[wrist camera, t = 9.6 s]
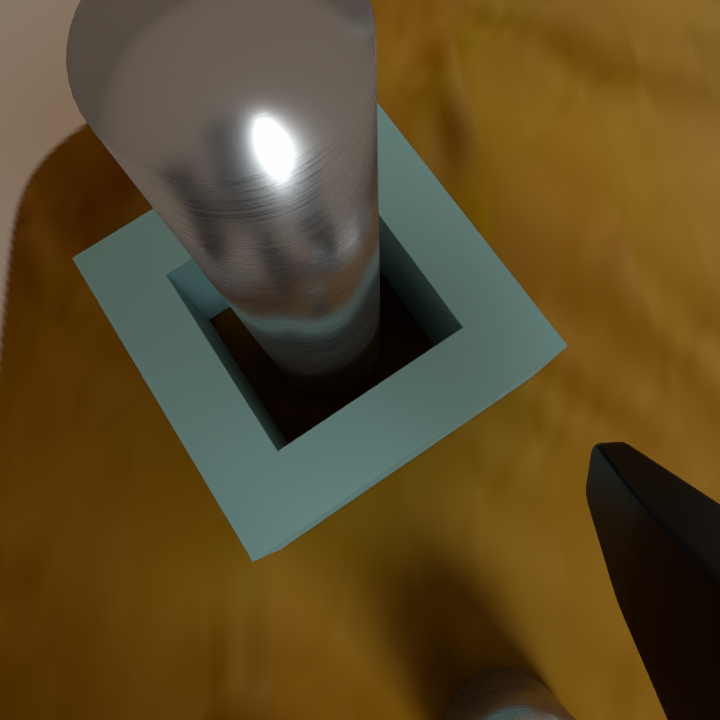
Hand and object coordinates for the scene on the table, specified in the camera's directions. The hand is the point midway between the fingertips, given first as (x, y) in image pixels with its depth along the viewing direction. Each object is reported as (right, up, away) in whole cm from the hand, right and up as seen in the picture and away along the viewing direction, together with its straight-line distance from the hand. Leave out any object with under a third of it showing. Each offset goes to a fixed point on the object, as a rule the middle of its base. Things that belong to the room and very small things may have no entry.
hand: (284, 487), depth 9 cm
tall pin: (0, +2, +10) cm, 11 cm away
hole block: (0, +2, +10) cm, 11 cm away
